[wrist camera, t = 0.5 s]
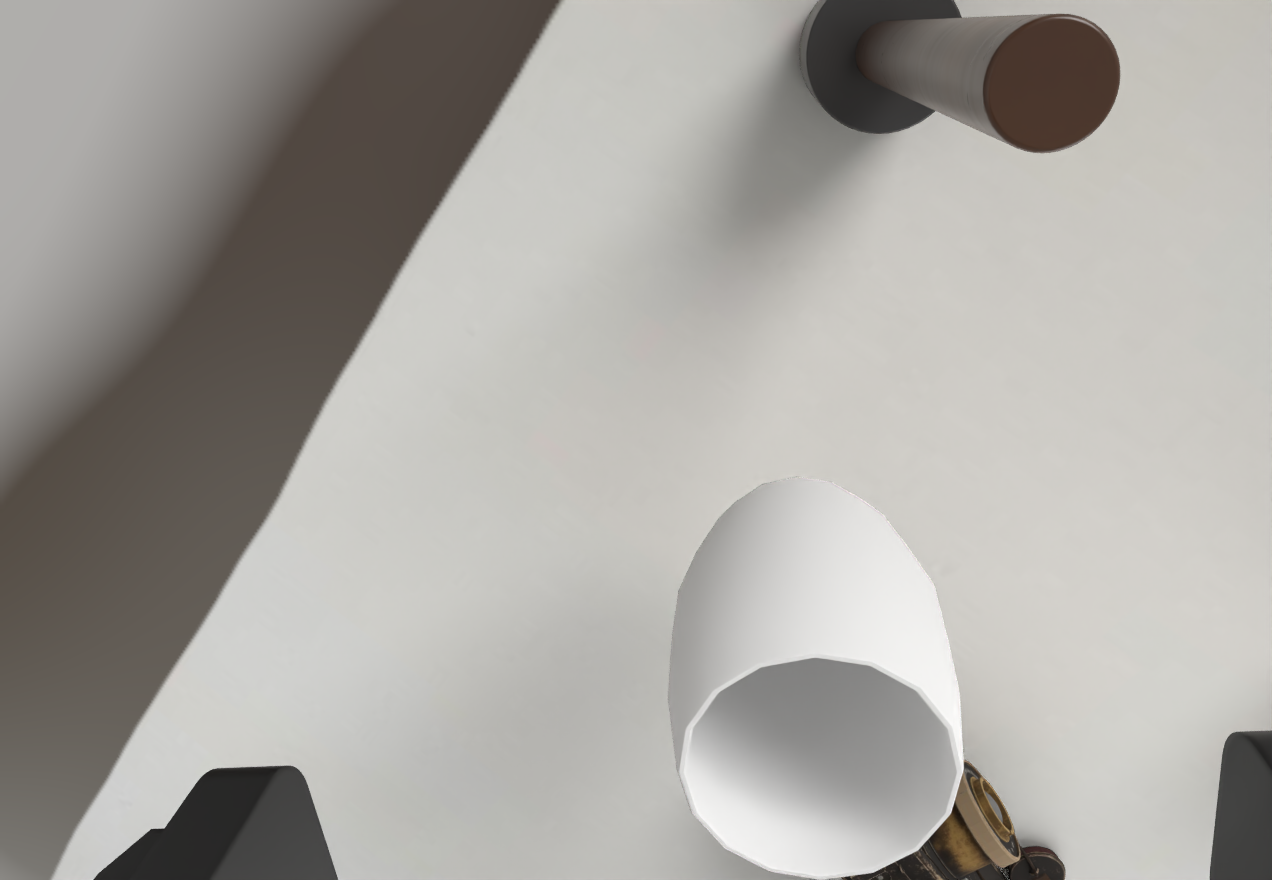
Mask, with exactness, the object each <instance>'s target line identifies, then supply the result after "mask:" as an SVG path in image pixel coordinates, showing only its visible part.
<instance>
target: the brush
mask: <svg viewBox="0 0 1272 880" xmlns="http://www.w3.org/2000/svg"><path fill="white" fill-rule="evenodd" d="M799 60H800V67H801V71H802V75H803V78H804V81H805V83H806V85H807V87H808V89H809V90H810V92H811V94H812V95H813V96H814V98H815V99H816V100H817V101H818V102H819V104H820V105H821V106H822V107H823V108H824V109H825V110H826V111H827V112H828V113H829V114H830V115H831V116H832V117H833V118H834V119H836V120H837V121H838V122H840V123H841V124H843V125H845V126H847V127H849V128H852V129H854V130H857V131H861V132H866V133H874V134H884V133H892V132H897V131H901V130H904V129H907V128H910V127H912V126H914V125H916V124H918V123H920V122H921V121H923V120H924V119H926V118H927V117H929V116H930V115H931V114H932V113H934V112H935V111H937V112H939V113H942V114H944V115H946V116H948V117H950V118H952V119H955V120H957V121H959V122H961V123H963V124H966V125H968V126H970V127H972V128H974V129H976V130H979V131H981V132H983V133H985V134H987V135H989V136H992V137H994V138H996V139H998V140H1000V141H1003V142H1005V143H1007V144H1009V145H1011V146H1013V147H1016V148H1018V149H1021V150H1024V151H1028V152H1033V153H1051V152H1056V151H1061V150H1064V149H1067V148H1069V147H1072V146H1074V145H1076V144H1078V143H1079V142H1081V141H1083V140H1084V139H1086V138H1087V137H1088V136H1089V135H1091V134H1092V133H1093V132H1094V131H1095V130H1096V129H1097V128H1098V127H1099V126H1100V125H1101V124H1102V122H1103V121H1104V120H1105V119H1106V117H1107V115H1108V114H1109V112H1110V111H1111V109H1112V106H1113V104H1114V102H1115V99H1116V97H1117V94H1118V89H1119V84H1120V64H1119V58H1118V55H1117V52H1116V49H1115V47H1114V45H1113V43H1112V41H1111V40H1110V38H1109V37H1108V36H1107V34H1106V33H1105V32H1104V31H1103V30H1102V29H1101V28H1100V27H1098V26H1097V25H1096V24H1094V23H1093V22H1091V21H1089V20H1087V19H1085V18H1082V17H1079V16H1076V15H1071V14H1041V15H1017V16H993V17H970V18H962V17H961V15H960V12H959V9H958V7H957V5H956V4H955V2H954V0H820V1H819V2H818V3H817V4H816V5H815V7H814V8H813V10H812V11H811V13H810V15H809V17H808V19H807V21H806V23H805V26H804V28H803V31H802V35H801V40H800V48H799Z"/></svg>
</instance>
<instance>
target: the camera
mask: <svg viewBox="0 0 1272 880" xmlns="http://www.w3.org/2000/svg"><path fill="white" fill-rule="evenodd" d="M963 762H964V770H963V774H962V777H961V780H960V784H959V787H958V791H957V794H956V798H955V801H954V805H953V808H952V812H951V814H950V815H949V817H948V818H947V819H946V820H945V821H944V822H943V823H942V824H941V825H940V827H939V828H938V829H937V830H936V831H935V832H934V833H933V834H932V835H931V837H930V838H929V839H928V840H927V841H926V842H925V843H924V844H923V845H922V847H921V848H920V849H919V850H918V851H916V852H914V853H912V854H910V855H908V856H906V857H904V858H902V859H900V860H898V861H896V862H894V863H892V864H890V865H888V866H886V867H884V868H882V869H880V870H878V871H876V872H874V873H868V874H861V875H853V876H846V877H841V878H842V879H843V880H1007V879H1006V878H1005V876H1004V875H1003V874H1002V873H1001V872H1000V870H999V869H998V868H997V867H996V865H997V866H999V867H1002V868H1004V867H1006V866H1008V865H1009V872H1008V874H1009V879H1010V880H1064V879H1065V867H1064V865H1063V863H1062V862H1061V861H1060V859H1059V858H1058V857H1057V855H1056V854H1055V853H1054V852H1052V851H1051V850H1049V849H1047V848H1043V847H1039V846H1036V847H1027V848H1024V849H1023V848H1022V847H1021V846H1020V845H1019V844H1018V841H1017V838H1016V835H1015V833H1014V828H1013V825H1012V822H1011V819H1010V817H1009V815H1008V813H1007V811H1006V809H1005V807H1004V805H1003V803H1002V801H1001V800H1000V798H999V797H998V795H997V793H996V792H995V790H994V789H993V788H992V786H991V785H990V784H989V783H988V782H987V781H986V780H985V779H984V778H983V777H982V775H981V774H980V773H979V772H978V770H977V769H976V768H975V767H974V766H973V765H972V764H971V763H969V762H968V761H966V760H963ZM995 864H996V865H995Z"/></svg>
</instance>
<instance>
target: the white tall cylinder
mask: <svg viewBox="0 0 1272 880" xmlns="http://www.w3.org/2000/svg"><path fill="white" fill-rule="evenodd" d="M668 703H669V711H670V719H671V727H672V735H673V743H674V751H675V759H676V767H677V771H678V774H679V777H680V780H681V783H682V786H683V789H684V792H685V795H686V798H687V801H688V804H689V807H690V810H691V812H692V814H693V815H694V816H695V817H696V818H697V819H698V820H699V821H700V822H701V823H702V825H703V826H704V827H705V828H706V829H707V830H708V831H709V832H710V833H711V834H712V835H713V837H714V838H715V839H716V840H717V841H718V842H719V843H720V844H721V845H722V846H723V847H724V848H725V849H726V850H728V851H730V852H732V853H734V854H736V855H738V856H740V857H742V858H744V859H746V860H748V861H750V862H752V863H754V864H756V865H758V866H760V867H761V868H763V869H765V870H767V871H769V872H775V873H781V874H787V875H794V876H800V877H806V878H812V879H818V880H825V879H832V878H839V877H846V876H853V875H861V874H868V873H874V872H876V871H878V870H880V869H882V868H884V867H886V866H888V865H890V864H892V863H894V862H896V861H898V860H900V859H902V858H904V857H906V856H908V855H910V854H912V853H914V852H916V851H918V850H919V849H920V848H921V847H922V845H923V844H924V843H925V842H926V841H927V840H928V839H929V838H930V837H931V835H932V834H933V833H934V832H935V831H936V830H937V829H938V828H939V827H940V825H941V824H942V823H943V822H944V821H945V820H946V819H947V818H948V817H949V815H950V814H951V812H952V808H953V805H954V801H955V798H956V794H957V791H958V787H959V784H960V780H961V777H962V774H963V770H964V762H963V742H962V722H961V702H960V692H959V687H958V683H957V678H956V673H955V668H954V664H953V659H952V654H951V649H950V645H949V641H948V637H947V633H946V629H945V625H944V621H943V617H942V613H941V609H940V605H939V601H938V597H937V593H936V589H935V585H934V584H933V582H932V581H931V579H930V578H929V576H928V575H927V574H926V572H925V571H924V569H923V568H922V566H921V565H920V563H919V562H918V561H917V559H916V558H915V556H914V555H913V553H912V552H911V550H910V549H909V548H908V546H907V545H906V544H905V542H904V541H903V540H902V538H901V537H900V536H899V535H898V533H897V532H896V531H895V529H894V528H893V527H892V525H891V524H890V523H889V522H888V520H887V519H886V518H885V516H884V515H883V514H882V513H881V512H879V511H878V510H876V509H875V508H874V507H872V506H871V505H869V504H868V503H867V502H865V501H864V500H862V499H861V498H859V497H858V496H856V495H854V494H852V493H850V492H849V491H847V490H845V489H843V488H841V487H840V486H838V485H836V484H834V483H832V482H830V481H823V480H816V479H809V478H802V477H793V478H788V479H784V480H779V481H774V482H770V483H765V484H762V485H760V486H759V487H757V488H756V489H754V490H753V491H751V492H750V493H748V494H747V495H745V496H744V497H742V498H741V499H739V500H738V501H736V502H735V503H734V504H733V505H732V506H731V507H730V508H729V509H728V510H727V511H726V512H725V513H724V514H723V515H722V516H721V517H720V518H719V519H718V520H717V522H716V523H715V525H714V526H713V528H712V529H711V531H710V532H709V534H708V535H707V537H706V538H705V540H704V541H703V543H702V544H701V546H700V547H699V549H698V550H697V552H696V554H695V556H694V558H693V560H692V562H691V565H690V567H689V569H688V571H687V573H686V575H685V578H684V580H683V582H682V584H681V586H680V589H679V591H678V597H677V604H676V611H675V618H674V625H673V632H672V643H671V658H670V673H669V688H668Z"/></svg>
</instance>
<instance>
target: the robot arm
mask: <svg viewBox="0 0 1272 880" xmlns="http://www.w3.org/2000/svg"><path fill="white" fill-rule="evenodd" d="M94 880H338V878H337V875H336V872H335V868H334V865H333V862H332V859H331V856H330V853H329V850H328V847H327V844H326V841H325V838H324V834H323V831H322V828H321V825H320V822H319V819H318V816H317V813H316V810H315V807H314V804H313V800H312V797H311V794H310V791H309V788H308V785H307V783H306V780H305V778H304V776H303V775H302V773H301V772H300V771H299V770H298V769H297V768H295V767H294V766H267V767H241V768H217V769H212V770H210V771H209V772H207V773H206V774H204V775H203V776H202V777H201V778H200V779H199V781H198V782H197V783H196V784H195V786H194V787H193V789H192V790H191V792H190V793H189V794H188V796H187V797H186V799H185V800H184V802H183V803H182V804H181V806H180V807H179V809H178V810H177V812H176V813H175V814H174V816H173V817H172V819H171V820H170V822H169V823H168V824H167V826H166V827H165V829H151V830H150V831H149V832H147V833H146V834H145V835H144V836H143V837H141V838H140V839H139V840H138V841H137V842H136V843H134V844H133V845H132V846H131V847H130V848H128V849H127V850H126V851H125V852H124V853H122V854H121V855H120V856H119V857H118V858H116V859H115V860H114V861H113V862H112V863H110V864H109V865H108V866H107V867H106V868H104V869H103V870H102V871H101V872H100V873H99V874H98V875H97V876H96V877H95V879H94ZM1210 880H1272V731H1249V732H1235V733H1232V734H1231V735H1230V736H1229V737H1228V738H1227V740H1226V742H1225V745H1224V749H1223V755H1222V764H1221V773H1220V782H1219V791H1218V801H1217V810H1216V819H1215V829H1214V838H1213V847H1212V857H1211V866H1210Z"/></svg>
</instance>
